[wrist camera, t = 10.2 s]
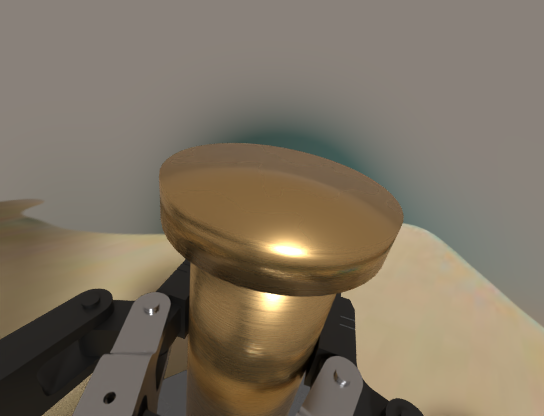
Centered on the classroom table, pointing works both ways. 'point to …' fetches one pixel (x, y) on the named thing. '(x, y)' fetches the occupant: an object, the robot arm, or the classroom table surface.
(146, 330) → the robot arm
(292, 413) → the plate
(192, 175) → the brass flanged peg
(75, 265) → the classroom table surface
